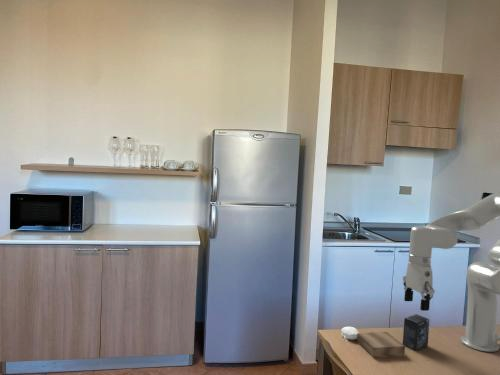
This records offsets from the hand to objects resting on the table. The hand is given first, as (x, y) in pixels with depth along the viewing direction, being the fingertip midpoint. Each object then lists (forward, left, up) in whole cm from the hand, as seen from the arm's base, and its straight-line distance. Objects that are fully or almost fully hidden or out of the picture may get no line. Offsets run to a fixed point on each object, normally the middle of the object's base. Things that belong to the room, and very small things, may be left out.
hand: (416, 305), depth 141 cm
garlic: (+21, -9, -16) cm, 28 cm away
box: (-1, 0, -16) cm, 16 cm away
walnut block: (+14, +1, -16) cm, 21 cm away
